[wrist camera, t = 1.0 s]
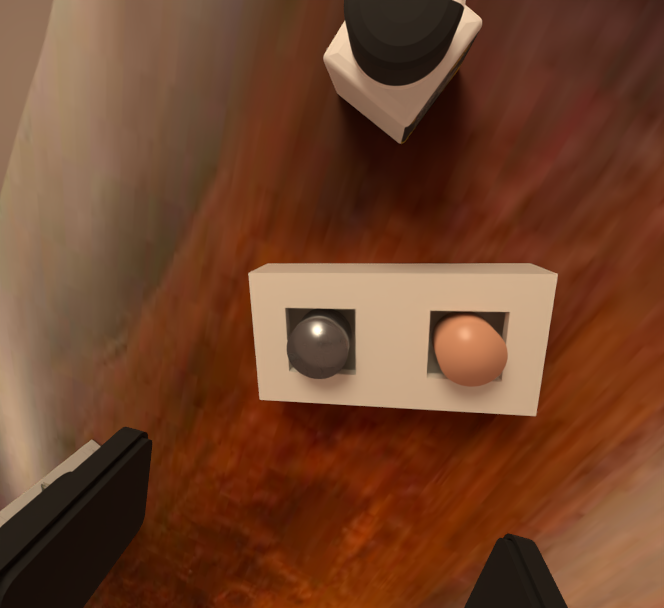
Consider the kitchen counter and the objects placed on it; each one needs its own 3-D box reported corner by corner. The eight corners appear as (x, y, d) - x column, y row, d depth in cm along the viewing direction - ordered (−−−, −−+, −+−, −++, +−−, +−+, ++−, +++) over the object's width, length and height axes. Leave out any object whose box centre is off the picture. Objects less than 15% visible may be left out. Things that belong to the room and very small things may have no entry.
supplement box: (140, 471, 44) (47, 572, 32) (115, 504, 46) (19, 610, 34) (92, 436, 43) (-20, 525, 31) (69, 471, 45) (-44, 566, 33)
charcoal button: (351, 308, 31) (347, 322, 27) (352, 359, 32) (347, 380, 28) (296, 307, 31) (284, 320, 27) (299, 357, 33) (288, 377, 29)
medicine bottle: (401, 146, 29) (413, 108, 18) (335, 92, 29) (303, 18, 17) (461, 66, 27) (516, -36, 16) (389, 7, 27) (394, -142, 15)
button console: (530, 263, 30) (557, 273, 25) (514, 386, 33) (535, 416, 29) (267, 263, 34) (248, 272, 29) (275, 374, 37) (259, 399, 32)
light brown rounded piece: (494, 310, 29) (511, 326, 25) (488, 365, 30) (503, 388, 26) (432, 309, 30) (440, 324, 26) (429, 363, 31) (436, 384, 27)
